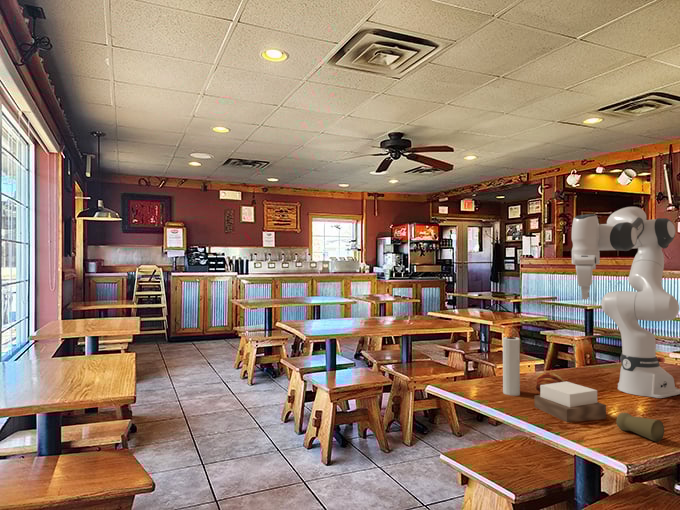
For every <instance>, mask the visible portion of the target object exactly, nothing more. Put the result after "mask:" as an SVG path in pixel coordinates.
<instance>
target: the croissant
mask: <svg viewBox="0 0 680 510" xmlns="http://www.w3.org/2000/svg"><path fill="white" fill-rule="evenodd" d="M535 382H536V383H535V384H536V386H535V389H536V391H537V392H539V393H540V385H545V384H552V383H559V382H565V380H564V378H563V377H561V376H560V375H558V374H556V373H553V372H544V373H541V374H539V375H538V376H537V377H536V380H535Z"/></svg>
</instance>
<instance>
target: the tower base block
mask: <svg viewBox="0 0 680 510" xmlns="http://www.w3.org/2000/svg"><path fill="white" fill-rule="evenodd" d="M534 408H536V409H538V410H540V411H542V412H544V413H546V414H549V415H551V416H552V417H555V418H557V419H559V420H561V421H563V422H565V421H566V423H573V422H572V421H575V422H583V421H586V422H587V421H596V420H606V419H607V405H606V404H604V403H602V402H599V401H597V403H593V404H587V405H581V406H575V407H568V406H565V405H562V404H559V403H556V402H554V401H551V400H548V399H545V398H542V397H540V394H538V395H537V394H536V395H534Z"/></svg>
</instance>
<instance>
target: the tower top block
mask: <svg viewBox="0 0 680 510" xmlns="http://www.w3.org/2000/svg"><path fill="white" fill-rule="evenodd" d="M539 393H540V394H539V395H540V397H542V398H545V399H548V400H551V401H554V402H556V403H559V404H562V405H565V406H568V407H575V406H581V405H587V404H593V403H597V402H598V390H597V389H594V388H590V387H587V386H585V385H584V386H583V385H581V384H576V383H574V382H570V381H564V382H559V383H552V384H545V385H540V392H539Z"/></svg>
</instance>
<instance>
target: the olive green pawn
mask: <svg viewBox="0 0 680 510" xmlns="http://www.w3.org/2000/svg"><path fill="white" fill-rule="evenodd" d="M615 420H616V422H615V423H616V426H617V427H618V428H619V429H620V430H621V431H623V432H633V433H634V434H637V435H639V436H641V437H643V438H645V439H648V440H650V441H653V442H656V443H658V442H661V441H662V440H663V438H664V435H665V425H664V423H663V422H662V420H660V419H656V418H655V419H653V418H646V417H638V416H632V414H629V413H628V412H621V413H619V414H618V415H617V417H616V419H615Z"/></svg>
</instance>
